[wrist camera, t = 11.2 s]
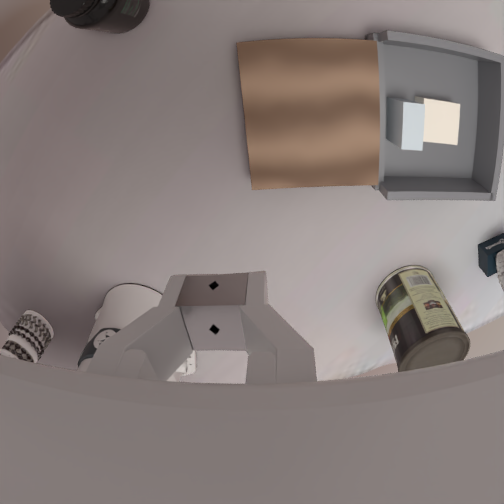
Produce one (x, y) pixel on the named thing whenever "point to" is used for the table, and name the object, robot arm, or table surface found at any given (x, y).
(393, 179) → the box
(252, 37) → the table surface
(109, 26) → the supplement bottle
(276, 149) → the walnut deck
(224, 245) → the table surface
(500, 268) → the watch
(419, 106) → the pale blue brick
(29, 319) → the decorative candle
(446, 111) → the cream tile
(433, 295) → the coffee can
